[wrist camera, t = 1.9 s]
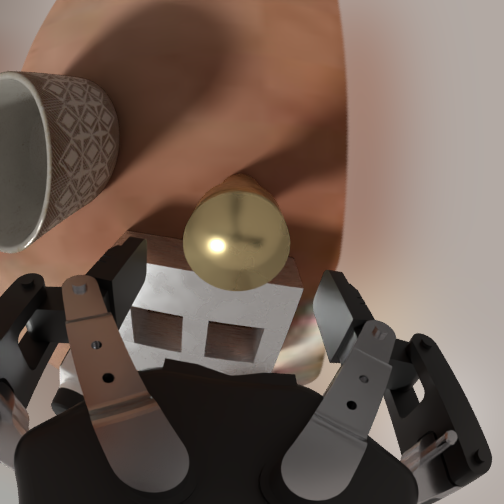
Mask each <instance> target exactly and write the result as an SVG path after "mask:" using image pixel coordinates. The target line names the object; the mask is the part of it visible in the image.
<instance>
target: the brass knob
mask: <svg viewBox="0 0 504 504" xmlns="http://www.w3.org/2000/svg"><path fill="white" fill-rule="evenodd" d="M183 249H184V253H185V257H186V259H187V262H188V264H189V265H190V267H191V268H192V270H193V271H194V272H195V273H196V274H197V275H198V276H199V277H200V278H201V279H202V280H203V281H205V282H206V283H208V284H210V285H212V286H214V287H216V288H219V289H223V290H228V291H247V290H251V289H255V288H258V287H260V286H262V285H264V284H266V283H268V282H269V281H271V280H272V279H273V278H274V277H276V276H277V274H278V273H279V272H280V271H281V270H282V268H283V267H284V265H285V263H286V261H287V258H288V256H289V251H290V235H289V231H288V228H287V225H286V223H285V220H284V217H283V215H282V212H281V210H280V207H279V205H278V203H277V201H276V200H275V199H274V197H273V196H272V195H271V194H270V193H269V192H268V191H266V190H265V189H264V188H262V187H260V186H259V184H258V183H257V181H256V180H255V179H254V178H252V177H250V176H248V175H245V174H235V175H232V176H230V177H228V178H227V179H225V180H224V181H223V183H221V184H219V185H217V186H215V187H213V188H212V189H210V190H209V191H208V192H207V193H206V194H205V195H204V196H203V197H202V198H201V199H200V201H199V202H198V204H197V206H196V208H195V210H194V211H193V213H192V215H191V217H190V219H189V221H188V223H187V225H186V227H185V231H184V236H183Z"/></svg>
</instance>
